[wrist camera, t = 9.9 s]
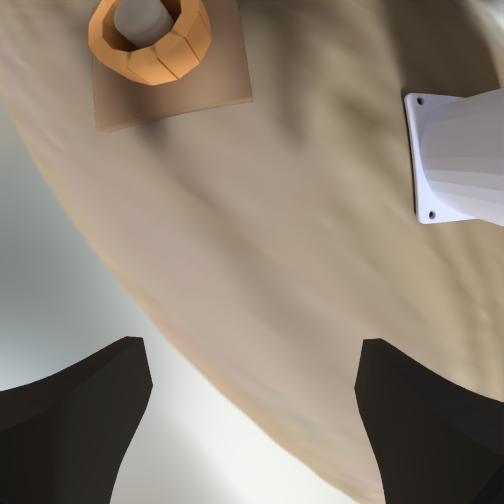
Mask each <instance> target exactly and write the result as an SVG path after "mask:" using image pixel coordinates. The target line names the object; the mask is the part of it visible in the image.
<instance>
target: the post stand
mask: <svg viewBox="0 0 504 504" xmlns="http://www.w3.org/2000/svg"><path fill="white" fill-rule="evenodd" d="M202 3H203V5H204V8H205V10H206V13H207V15H208V17H209V21H210V29H211V36H212V39H211V43H210V45H209V47H208V49H207V51H206V53H205V55H204V57H203V59H202V61H199V62H200V63H199V64H198V65H197V66H195V67H194V68H193V69H191V70H190V71H189V72H187V73H186V74H185V75H184V76H182V77H181V78H180V79H179V78H178V80H174V81H170V82H166V83H162V84H158V85H154V86H153V85H152V86H151V85H147V84H143V83H139V82H135V81H131V80H129V79H128V78H126V77H124V76H123V75H121V74H119V73H118V72H116V71H114V70H113V69H111V68H109V67H107V66H106V65H104V64H102V63H101V62H100V61H99V60H98V58H97V57H96V56H95V55H94V53H93V52H92V64H93V94H94V110H95V123H96V131H101V132H106V133H109V132H112V131H116V130H119V129H123V128H126V127H130V126H134V125H137V124H141V123H145V122H149V121H153V120H157V119H161V118H165V117H170V116H174V115H179V114H183V113H188V112H193V111H198V110H204V109H209V108H215V107H220V106H227V105H233V104H239V103H246V102H253V98H252V91H251V85H250V78H249V72H248V65H247V59H246V52H245V46H244V40H243V33H242V27H241V21H240V15H239V9H238V3H237V0H202ZM97 8H98V7H95V8H94V11H93V15H94V13H95V12H96V10H97ZM179 16H180V13H174V12H168V11H167V10H166V8H165V7H164V5H163V4H162V2H161V1H160V0H123V1H122V2H121V3H120V4H119V5H118V7H117V8H116V11H115V13H114V24H115V27H116V29H117V30H118V31H119V32H120V33H121V34H122V35H123V36H125V37H126V38H127V39H128V40H129V41H130V42H129V51H130V52H133V51H136V50H139V49H143V48H146V47H149V46H152V45H154V44H155V43H156V42H157V41H159V40H160V39H161V38H163V37H164V36H165V35H166V34H168V33H169V32H170V31H171V30H172V29H173V27H174V25H175V23H176V21H177V19H178V18H179Z"/></svg>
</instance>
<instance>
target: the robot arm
mask: <svg viewBox="0 0 504 504" xmlns="http://www.w3.org/2000/svg"><path fill="white" fill-rule="evenodd" d="M417 98H419V99H420V100H421V105H419V104H418V102H417ZM404 102H405V108H406V114H407V120H408V127H409V134H410V142H411V150H412V159H413V169H414V181H415V196H416V216H417V220H418V221H419V222H420V223H423V224H429V223H439V222H448V221H457V220H466V219H476V218H479V219H482V220H485V221H488V222H491V223H495V224H498V225H501V226H504V88H501V89H497V90H493V91H489V92H485V93H482V94H478V95H475V96H471V97H468V98H463V97H454V96H445V95H434V94H420V93H409V94H407V95H406V96H405V98H404ZM431 211H432V213H433V216H432V217H431V218H429V213H430V212H431ZM152 387H153V383H152V379H151V375H150V370H149V366H148V361H147V356H146V351H145V346H144V342H143V338H140V337H128V336H126V337H124V338H122V339H120V340H118V341H116V342H114V343H112V344H110V345H108V346H106V347H105V348H103V349H101V350H99V351H98V352H96V353H94V354H92V355H90V356H89V357H87V358H85V359H83V360H81V361H79V362H77V363H75V364H73V365H71V366H70V367H67V368H66V369H63V370H61V371H60V372H58V373H55V374H53V375H51V376H48V377H46V378H44V379H41V380H38V381H35V382H33V383H30V384H27V385H23V386H19V387H16V388H12V389H8V390H4V391H0V504H109V503H110V499H111V495H112V491H113V487H114V484H115V481H116V477H117V473H118V471H119V467H120V464H121V462H122V460H123V457H124V455H125V453H126V451H127V448H128V446H129V444H130V442H131V440H132V438H133V436H134V433H135V432H136V429H137V427H138V425H139V423H140V421H141V419H142V416H143V414H144V412H145V410H146V407H147V404H148V401H149V398H150V394H151V391H152ZM354 389H355V394H356V399H357V404H358V408H359V413H360V416H361V418H362V421H363V424H364V427H365V430H366V432H367V435H368V438H369V441H370V443H371V446H372V449H373V452H374V455H375V457H376V460H377V463H378V467H379V470H380V474H381V479H382V484H383V489H384V495H385V501H386V504H504V402H500V401H497V400H494V399H491V398H488V397H485V396H482V395H479V394H477V393H474V392H472V391H470V390H467V389H465V388H463V387H461V386H458V385H456V384H454V383H452V382H450V381H449V380H447V379H445V378H443V377H441V376H440V375H438V374H436V373H434V372H433V371H431V370H429V369H428V368H426V367H425V366H423V365H421V364H420V363H418V362H417V361H415V360H414V359H412V358H411V357H409V356H408V355H406V354H405V353H403V352H402V351H400V350H399V349H397V348H396V347H394V346H393V345H391V344H390V343H388V342H386V341H385V340H383V339H381V338H378V339H364V340H363V345H362V351H361V357H360V362H359V368H358V373H357V378H356V383H355V387H354Z"/></svg>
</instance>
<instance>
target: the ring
mask: <svg viewBox="0 0 504 504" xmlns="http://www.w3.org/2000/svg"><path fill="white" fill-rule="evenodd" d="M122 1H123V0H105V1H103V0H102V1H101V3H100V5H99V6H98V8H97V10H96V12H95V13H94V15H93V17H92V19H91V20H90V22H89V23H90V24H89V34H88V46H89V48H90V49H91V51H92V52H93V53H94V55H95V56H96V57H97V58H98V60H99V61H100V62H101V63H102V64H104V65H106V66H107V67H109V68H111V69H113V70H114V71H116V72H118V73H119V74H121V75H123V76H124V77H126V78H128V79H129V80H131V81H135V82H139V83H143V84H147V85H151V86H152V85H153V86H154V85H158V84H162V83H166V82H170V81H174V80H178V78H179V79H180V78H181V77H182V76H184V75H185V74H186V73H187V72H189V71H190V70H191V69H193V68H194V67H195V66H197V65H198V64H199V63H200V62H199V61H202V59H203V57H204V55H205V53H206V51H207V49H208V47H209V45H210V43H211V39H212V36H211V29H210V21H209V17H208V15H207V13H206V10H205V8H204V5H203V3H202V0H160V1H161V2H162V4H163V5H164V7H165V8H166V10H167V11H168V12H174V13H180V16H179V18H178V19H177V21H176V23H175V25H174V27H173V29H172V30H171V31H170V32H169V33H168V34H166V35H165V36H164V37H163V38H161V39H160V40H159V41H157V42H156V43H155V44H154V45H152V46H149V47H146V48H143V49H139V50H136V51H133V52H130V51H129V42H130V41H129V40H128V39H127V38H126V37H125V36H123V35H122V34H121V33H120V32H119V31H118V30H117V29H116V27H115V24H114V13H115V11H116V8H117V7H118V5H119V4H120V3H121V2H122Z"/></svg>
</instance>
